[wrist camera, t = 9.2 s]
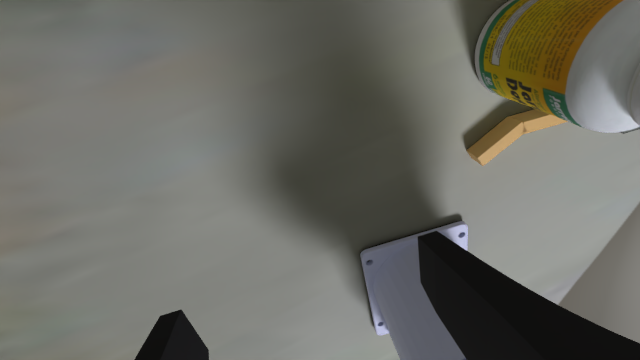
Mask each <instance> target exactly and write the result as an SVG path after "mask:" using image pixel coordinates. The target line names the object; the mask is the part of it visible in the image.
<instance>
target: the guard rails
mask: <svg viewBox="0 0 640 360" xmlns="http://www.w3.org/2000/svg"><path fill="white" fill-rule="evenodd" d="M565 122H568V121H566V120H563V119H561V118H558V117H556V116H553V115H550V114H547V113H545V112H542V111H539V110H536V109H534V110H530V111H526V112H523V113H519V114H516V115H512V116H508V117H506V118H505V119H504V120H503V121H501V122H500V123H499V124H498V125H497V126H495V127H494V128H493V129H492V130H491V131H489V132H488V133H487V134H486V135H484V136H483V137H482V138H481V139H480V140H478V141H477V142H476V143H475V144H474V145H472V146H471V147H470V148H469V149H467V150H466V151H467V152H468V154H469V155H470V156H471V158H472V159H474V160H475V161H477V162H478V163H479V164H481V165H482V166H484V165H485V164H486V163H488V162H489V161H490V160H491V159H493V158H494V157H495V156H496V155H498V154H499V153H500V152H501V151H503V150H504V149H505V148H506V147H508V146H509V145H510V144H511V143H513V142H514V141H515V140H516V139H518V138H519V137H520V136H521V135H523V134H526V133H529V132H533V131H536V130H540V129H544V128H547V127H551V126H554V125H558V124H561V123H565Z"/></svg>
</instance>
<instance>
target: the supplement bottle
mask: <svg viewBox="0 0 640 360" xmlns="http://www.w3.org/2000/svg"><path fill="white" fill-rule="evenodd" d="M475 67H476V72H477V75H478V78H479V80H480V82H481V84H482V85H483V86H484V87H485V88H486V89H488V90H489V91H491V92H493V93H495V94H497V95H500V96H502V97H505V98H507V99H510V100H513V101H516V102H518V103H520V104H523V105H526V106H529V107H531V108H534V109H536V110H539V111H542V112H545V113H547V114H550V115H553V116H556V117H558V118H561V119H563V120H566V121H568V122H571V123H573V124H576V125H578V126H580V127H583V128H586V129H590V130H593V131H598V132H604V133H614V132H623V131H628V130H632V129H635V128H638V127H640V0H510V1H508V2H506V3H505V4H504V5H502V6H501V7H500V8H499V9H497V10H496V11H495V13H494V14H493V15H492V16H491V17H490V18H489V20H488V21H487V23H486V24H485V26H484V28H483V29H482V31H481V34H480V36H479V39H478V42H477V45H476V50H475Z"/></svg>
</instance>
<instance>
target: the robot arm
mask: <svg viewBox="0 0 640 360" xmlns="http://www.w3.org/2000/svg"><path fill="white" fill-rule="evenodd" d="M460 233H461V234H460ZM467 246H468V226H467V224H466V223H465V222H463V221H459V222H456V223H452V224H449V225H446V226H442V227H439V228H435V229H432V230H429V231H425V232H422V233H419V234H415V235H412V236H409V237H405V238H402V239H398V240H395V241H392V242H388V243H385V244H382V245H378V246H375V247H372V248H368V249H365V250H363V251H362V252H361V254H360V257H361V262H362V267H363V272H364V277H365V282H366V287H367V292H368V297H369V302H370V307H371V312H372V317H373V322H374V327H375V331H376V333H377V335H384V334H387V333H389V334H390V336H391V338H392V341H393V343H394V346H395V348H396V350H397V353H398V355H399V357H400V360H640V344H639V343H637V342H635V341H633V340H630V339H628V338H626V337H623V336H621V335H618V334H616V333H614V332H612V331H610V330H607V329H605V328H603V327H601V326H599V325H596V324H595V323H593V322H591V321H588V320H586V319H584V318H582V317H580V316H578V315H576V314H574V313H572V312H570V311H568V310H566V309H564V308H562V307H560V306H558V305H557V304H555V303H553V302H551V301H549V300H547V299H546V298H544V297H542V296H540V295H538V294H537V293H535V292H533V291H531V290H529V289H528V288H526V287H524V286H522V285H521V284H519V283H517V282H516V281H514V280H512V279H511V278H509V277H507V276H506V275H504V274H502V273H501V272H499V271H498V270H496V269H494V268H493V267H491V266H489V265H488V264H486V263H485V262H483V261H482V260H480V259H479V258H477V257H476V256H474V255H472V254H471V253H469V252H468V251H467ZM368 260H370V261H368ZM367 261H368V262H367ZM135 360H209V352H208V349H207V347H206V346H205V344H204V343H203V341H202V340H201V338H200V337H199V335H198V334H197V332H196V331H195V329H194V328H193V326H192V325H191V323H190V322H189V320H188V319H187V317H186V316H185V314H184V313H183V311H182V310H178V311H175V312H172V313H169V314H165V315H162V316H160V317H159V319H158V321H157V322H156V324H155V326H154V327H153V329H152V331H151V332H150V334H149V336H148V337H147V339H146V341H145V343H144V344H143V346H142V348H141V349H140V351H139V353H138V355H137V356H136V358H135Z"/></svg>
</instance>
